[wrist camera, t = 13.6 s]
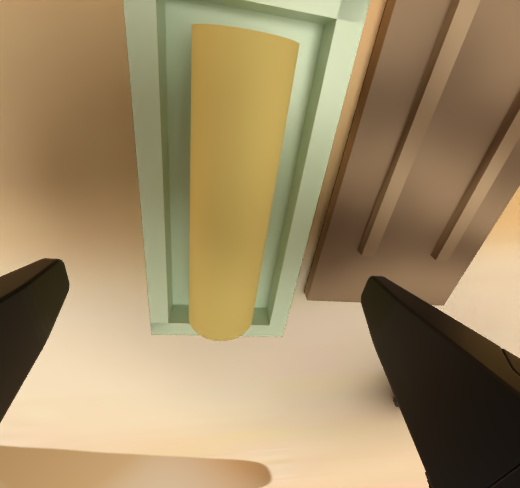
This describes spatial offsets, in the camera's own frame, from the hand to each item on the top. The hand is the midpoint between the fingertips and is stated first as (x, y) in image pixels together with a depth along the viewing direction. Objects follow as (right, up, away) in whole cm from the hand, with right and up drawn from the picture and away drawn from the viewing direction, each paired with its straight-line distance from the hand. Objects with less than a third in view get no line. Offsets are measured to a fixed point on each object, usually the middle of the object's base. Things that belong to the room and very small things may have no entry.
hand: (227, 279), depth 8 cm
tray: (-1, +4, +6) cm, 7 cm away
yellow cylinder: (-1, +3, +6) cm, 7 cm away
